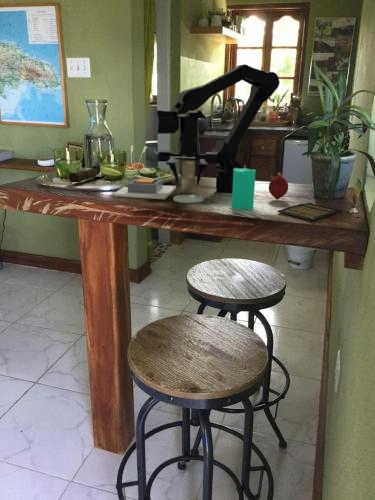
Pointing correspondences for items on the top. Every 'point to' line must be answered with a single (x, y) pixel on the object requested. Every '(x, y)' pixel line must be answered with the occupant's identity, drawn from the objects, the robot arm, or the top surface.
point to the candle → (243, 188)
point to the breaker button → (146, 181)
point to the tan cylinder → (188, 176)
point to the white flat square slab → (145, 190)
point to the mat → (188, 198)
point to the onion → (278, 186)
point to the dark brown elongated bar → (84, 174)
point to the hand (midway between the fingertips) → (188, 184)
